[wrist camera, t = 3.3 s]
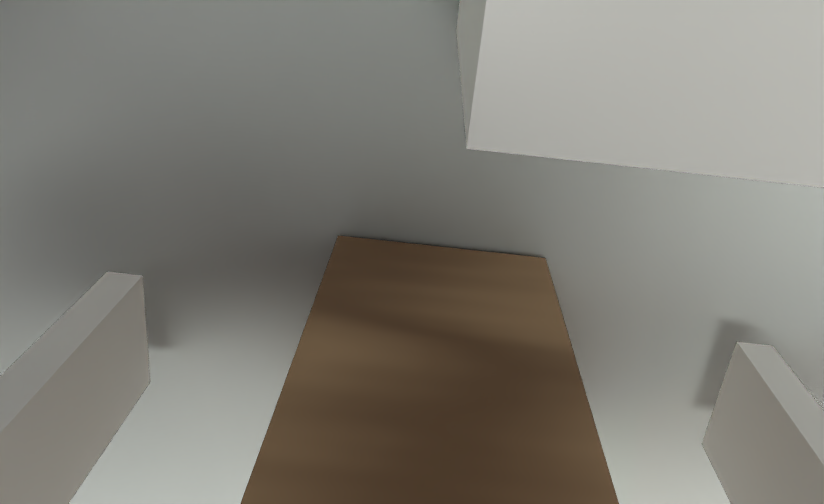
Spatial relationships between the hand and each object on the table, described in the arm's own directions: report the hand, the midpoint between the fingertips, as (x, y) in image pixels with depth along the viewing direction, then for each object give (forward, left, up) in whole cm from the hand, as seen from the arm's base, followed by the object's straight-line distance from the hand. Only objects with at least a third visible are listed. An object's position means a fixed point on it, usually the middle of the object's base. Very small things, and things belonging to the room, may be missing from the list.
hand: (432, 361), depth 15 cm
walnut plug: (0, 0, -1) cm, 1 cm away
